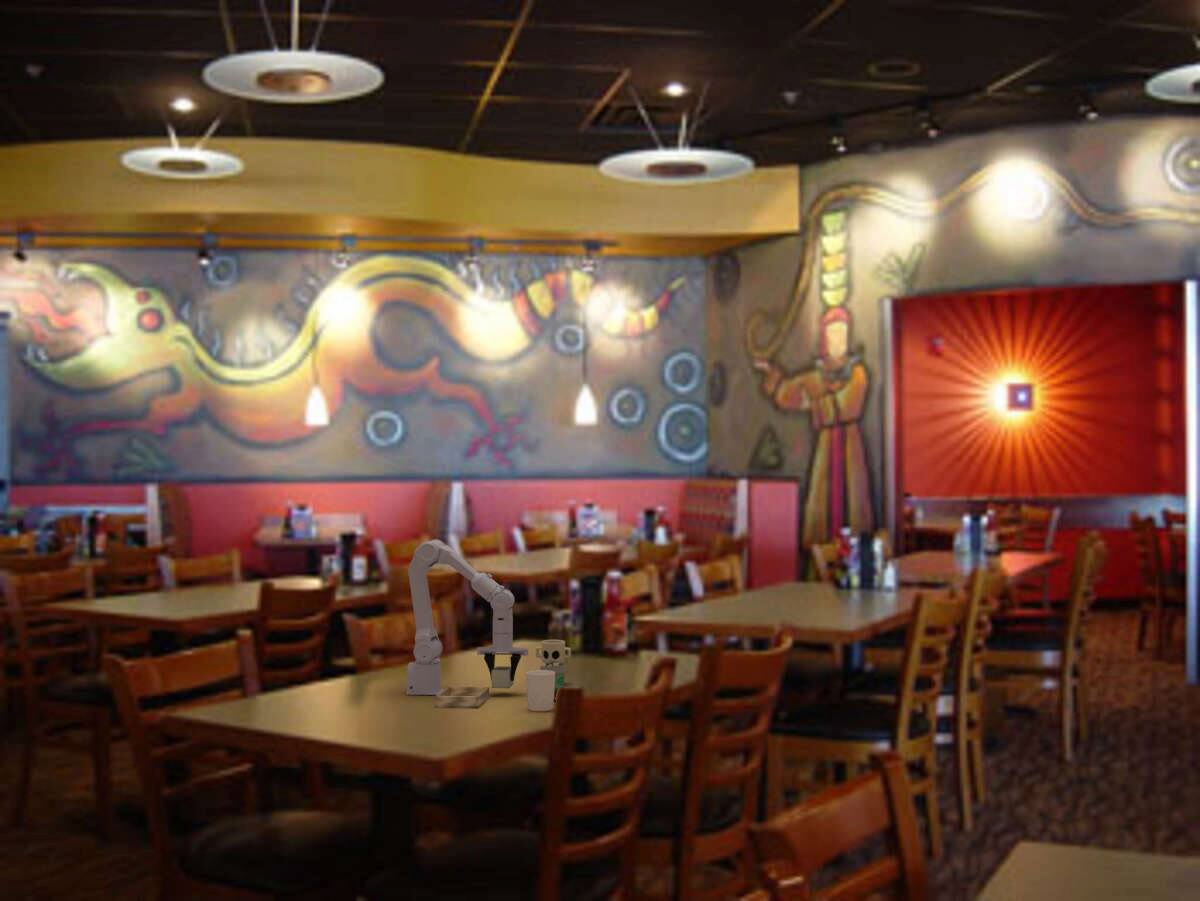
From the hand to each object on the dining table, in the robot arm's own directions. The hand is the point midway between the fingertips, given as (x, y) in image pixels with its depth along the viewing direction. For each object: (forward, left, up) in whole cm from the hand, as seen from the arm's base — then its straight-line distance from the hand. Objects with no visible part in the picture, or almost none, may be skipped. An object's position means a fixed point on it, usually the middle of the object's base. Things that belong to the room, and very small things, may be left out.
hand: (502, 680), depth 400 cm
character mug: (+12, +19, -4) cm, 23 cm away
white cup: (+14, -21, -4) cm, 26 cm away
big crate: (-9, -13, -4) cm, 16 cm away
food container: (+16, -5, -4) cm, 17 cm away
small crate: (0, 0, -2) cm, 2 cm away
